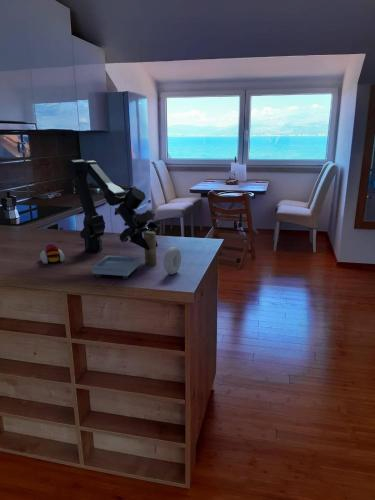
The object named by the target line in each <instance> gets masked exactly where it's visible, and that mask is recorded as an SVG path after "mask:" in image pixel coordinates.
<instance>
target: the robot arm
mask: <svg viewBox="0 0 375 500" xmlns="http://www.w3.org/2000/svg"><path fill="white" fill-rule="evenodd" d="M65 169H66V172H67V175H68V177H69V178H70V179H71V180H72V181H73V182H74V184H75V187H76V191H77V194H78V197H79V200H80V203H81V207H82V210H83V211H82V212H83V215H84V218H83V220H82V221H83V223H82V224H83V228H82V229H81V231H80V233H79V235H80V237H81V239H83V240H84V249H83V252H84V253H96V254H97V253H99V252H100V251H102V250H103V249H104V247H103V240H102V238H101V237H102V236H104V233H105V230H106V222H105V219H104V216H103V214H98V212H97V210H96V206H95V202H94V199H93V196H92V193H91V190H90V187H89V183H88V175H89V176H90V177H91V178H92V179H93V181H94V182H95V183H96V184H97V185H98V187H99V188H100V189H101V190H102V192H103V197H104V199H105V201H106V202H107V204H108V205H109V206H112V207H114V206H117V207H115V208H114V214H113V215H114V216H118V215H120V217H121V219H122V220H123V221H124V223H123V225H124V226H125V227H127V228H124V229H123V230H122V232H121V233H120V234H119V240H120V242H121V243H122V244H124V243H126V242H128V241H129V243H132V244H135V245H137V246H139V247H141V248H142V249H144V250H145V249H146V250H149V249H150V248H149V246H148V244H147V243H146V241H145V240H144V235H143V234H144V232H148V231H153V232H156V231H157V230H158V229H159V228H160V226H161V223H160V221H159V220H156V219H155V216H156V214H155V212H154V211H153V209H147V210H145V212H143V213H140V212H139V213H138V212H137V211H136V210H137V209H138V208H139V207H140V206H141V205H142V203H143V202H144V201H145V200H146V197H147V196H146V194H145V192H144V191H142V190H141V189H139V188H137V187H136V186H131V187H130V188H129V190H128V192H126V191H125V190H124V189H123V188H121V187H120V186H118V185H116V184H114V183H113V181H111V179H110V178H109V177H108V176H107V174H106V173H105V172H104V171H103V170H102V168H100V166H99V165H98V162H97V161H95V160H93V159H91V160H84V159H80V158H79V159H69V160H67V162H66V164H65ZM154 219H155V220H154ZM129 239H130V240H129ZM158 247H159V245H158V241H157V240H156V248H158Z"/></svg>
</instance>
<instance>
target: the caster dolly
mask: <svg viewBox="0 0 375 500" xmlns="http://www.w3.org/2000/svg"><path fill="white" fill-rule="evenodd" d="M140 265H141V258H140V257H138V256H137V257H135V256H119V255H105V257H103V258H102V259H101V260H99V261H98V262H96V263H95V264H94V265H92V267H91V268H92V269H91V270H92V275H93V274H95V276H96V278H97V279H98V278H101V277H102V275H109V276H122V279H123V280H129V275H130V274H132V273H133V272H134V271H137V270H138V267H139V266H140Z"/></svg>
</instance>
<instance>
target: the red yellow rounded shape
mask: <svg viewBox="0 0 375 500" xmlns="http://www.w3.org/2000/svg"><path fill="white" fill-rule="evenodd" d="M39 257H40V259H41V262H42V264H47V265H48V262H49V263H50V262H51V263H56V262H58V261H59V262H60V263H62V262H63V261H65V258H66V257H65V253H63V251H62V250H61V249H59V248H58V246H57V245H56V244H55V243H52V242H50V243H48V244H47V245H46V246H45V248H44V250H43V251H41V252H40V253H39Z"/></svg>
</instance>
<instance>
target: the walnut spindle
mask: <svg viewBox="0 0 375 500" xmlns="http://www.w3.org/2000/svg"><path fill="white" fill-rule="evenodd" d="M156 234H157V232H156V231H155V232H153V231H148V232H144V233H143V238H144V240H145V241H146V243H147V244H148V246H149V248H150V249H149V250H146V249H144V264H145V266H148V267H153V266H156V265H157V264H158V263H157V247H156V241H157V238H156V237H157V236H156Z"/></svg>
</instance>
